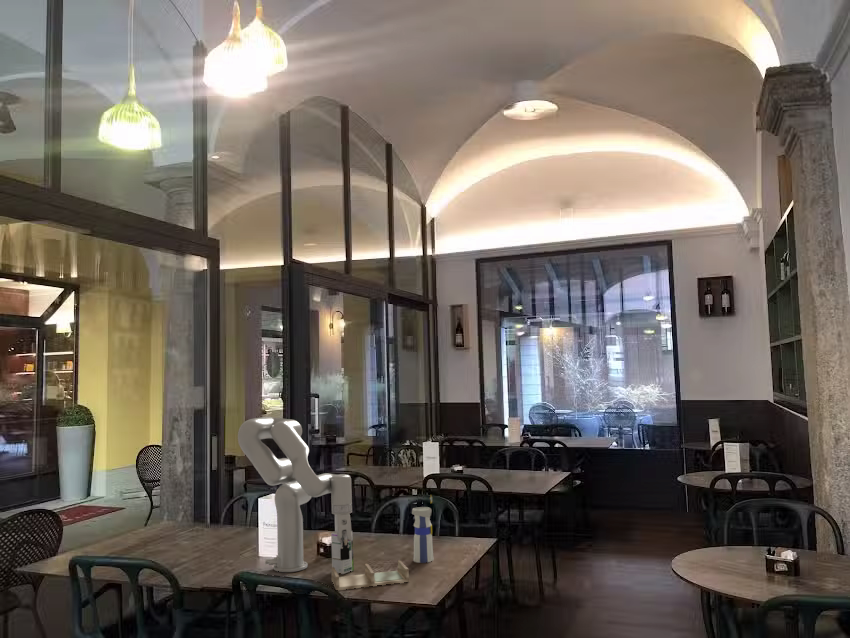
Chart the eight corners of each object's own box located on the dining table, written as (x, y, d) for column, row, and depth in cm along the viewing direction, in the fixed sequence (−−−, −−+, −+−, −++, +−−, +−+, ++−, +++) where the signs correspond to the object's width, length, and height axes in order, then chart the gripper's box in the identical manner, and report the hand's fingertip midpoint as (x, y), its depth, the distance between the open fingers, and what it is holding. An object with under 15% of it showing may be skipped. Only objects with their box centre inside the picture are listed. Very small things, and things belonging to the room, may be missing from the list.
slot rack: (336, 590, 225) (336, 576, 225) (331, 580, 236) (331, 567, 237) (408, 582, 231) (408, 568, 232) (400, 573, 243) (400, 560, 243)
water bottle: (434, 556, 264) (432, 491, 266) (435, 562, 256) (433, 495, 258) (413, 557, 264) (411, 492, 266) (413, 563, 255) (411, 496, 257)
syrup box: (343, 574, 243) (342, 533, 244) (331, 572, 247) (330, 531, 248) (354, 570, 248) (353, 530, 249) (342, 568, 251) (341, 528, 253)
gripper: (355, 511, 242) (357, 561, 240) (348, 504, 259) (349, 550, 257) (334, 513, 240) (336, 563, 238) (328, 505, 256) (329, 552, 255)
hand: (343, 556), depth 248 cm, fingers open, 9 cm apart
